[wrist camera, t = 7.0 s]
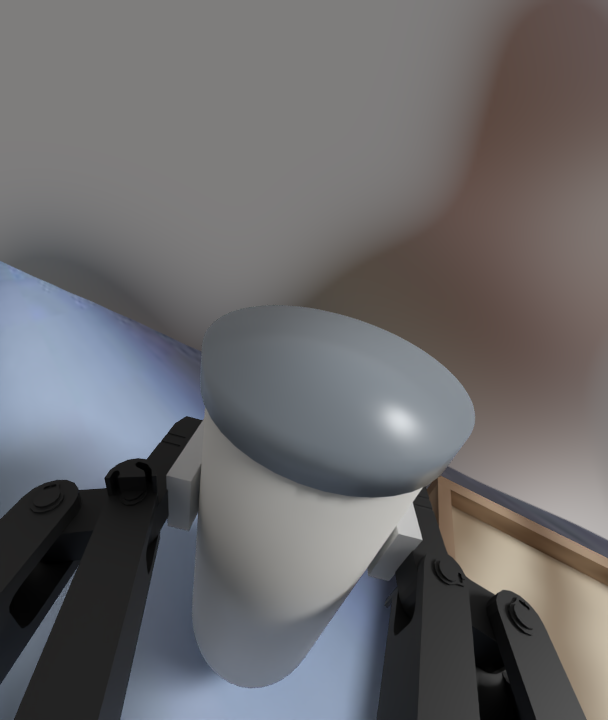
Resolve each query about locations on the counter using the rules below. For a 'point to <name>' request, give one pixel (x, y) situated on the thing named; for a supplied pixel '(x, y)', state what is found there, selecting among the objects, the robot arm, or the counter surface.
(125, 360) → the counter surface
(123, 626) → the robot arm
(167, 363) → the counter surface
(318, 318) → the canister
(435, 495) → the tray
